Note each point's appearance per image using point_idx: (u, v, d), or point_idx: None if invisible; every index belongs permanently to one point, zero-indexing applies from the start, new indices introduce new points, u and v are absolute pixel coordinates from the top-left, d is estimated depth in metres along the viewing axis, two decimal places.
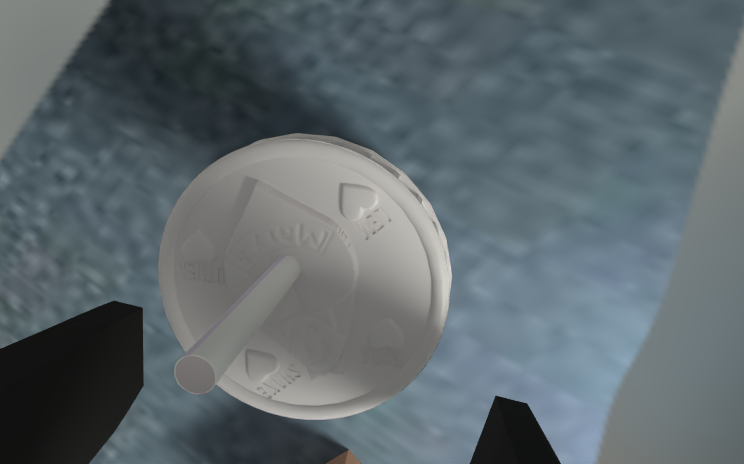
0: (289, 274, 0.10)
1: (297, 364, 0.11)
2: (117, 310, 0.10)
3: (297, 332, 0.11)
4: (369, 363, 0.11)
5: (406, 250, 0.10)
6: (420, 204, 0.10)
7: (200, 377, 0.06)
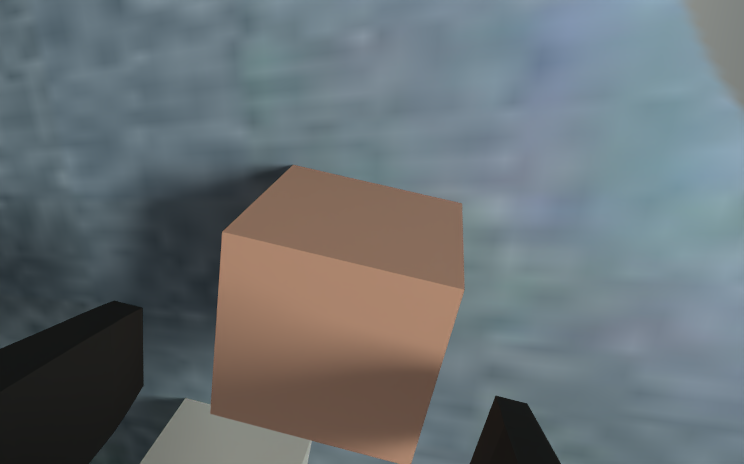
0: None
1: None
2: (116, 310, 0.10)
3: None
4: None
5: None
6: None
7: None
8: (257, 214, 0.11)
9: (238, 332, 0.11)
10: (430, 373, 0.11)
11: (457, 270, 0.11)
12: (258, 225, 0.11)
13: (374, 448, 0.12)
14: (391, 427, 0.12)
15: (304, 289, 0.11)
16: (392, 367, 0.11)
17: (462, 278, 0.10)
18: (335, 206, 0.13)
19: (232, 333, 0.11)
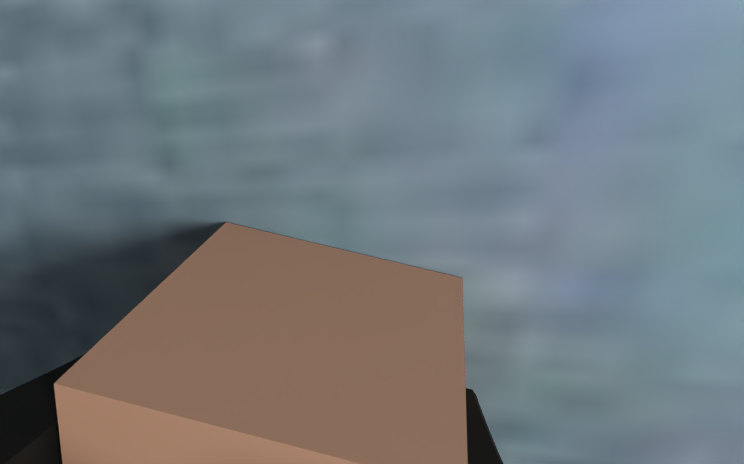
0: None
1: None
2: None
3: None
4: None
5: None
6: None
7: None
8: (135, 333, 0.07)
9: None
10: None
11: (456, 438, 0.06)
12: (127, 360, 0.07)
13: None
14: None
15: None
16: None
17: (464, 459, 0.06)
18: (271, 303, 0.08)
19: None
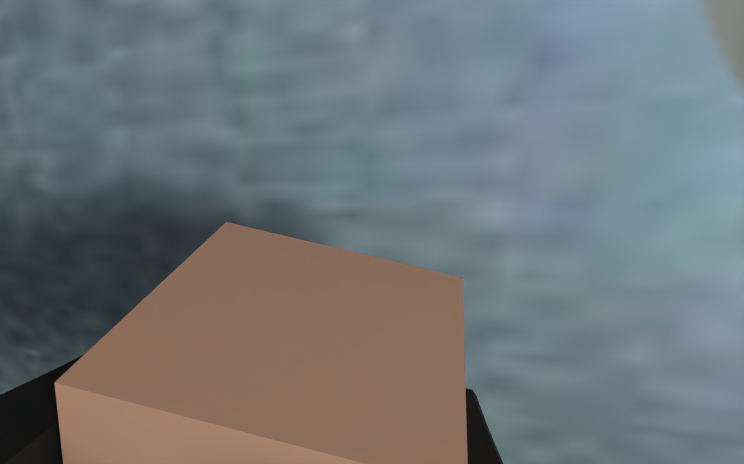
0: None
1: None
2: None
3: None
4: None
5: None
6: None
7: None
8: (135, 332, 0.07)
9: None
10: None
11: (456, 437, 0.06)
12: (128, 359, 0.07)
13: None
14: None
15: None
16: None
17: (464, 458, 0.06)
18: (271, 303, 0.08)
19: None
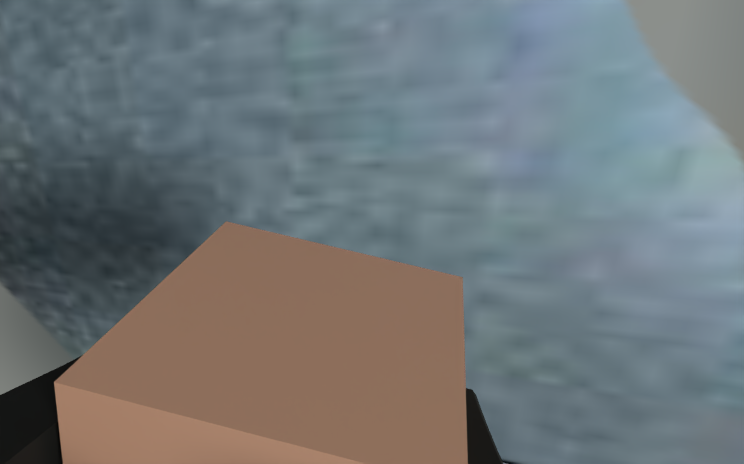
0: None
1: None
2: None
3: None
4: None
5: None
6: None
7: None
8: (135, 332, 0.07)
9: None
10: None
11: (456, 436, 0.06)
12: (128, 358, 0.07)
13: None
14: None
15: None
16: None
17: (464, 458, 0.06)
18: (271, 302, 0.08)
19: None
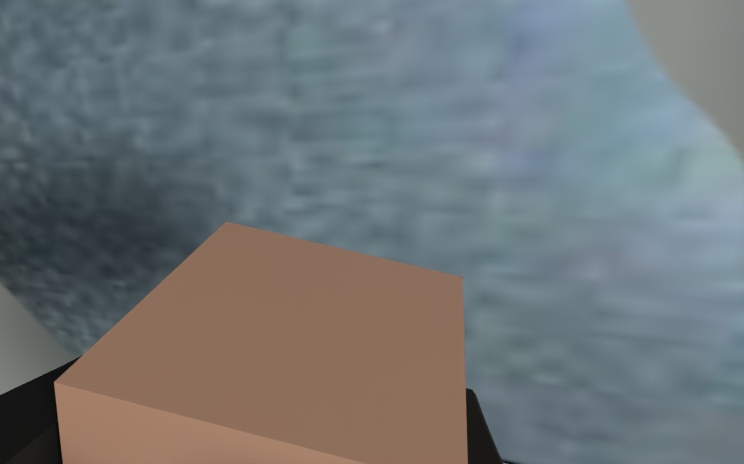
0: None
1: None
2: None
3: None
4: None
5: None
6: None
7: None
8: (135, 332, 0.07)
9: None
10: None
11: (456, 436, 0.06)
12: (128, 358, 0.07)
13: None
14: None
15: None
16: None
17: (464, 458, 0.06)
18: (271, 302, 0.08)
19: None
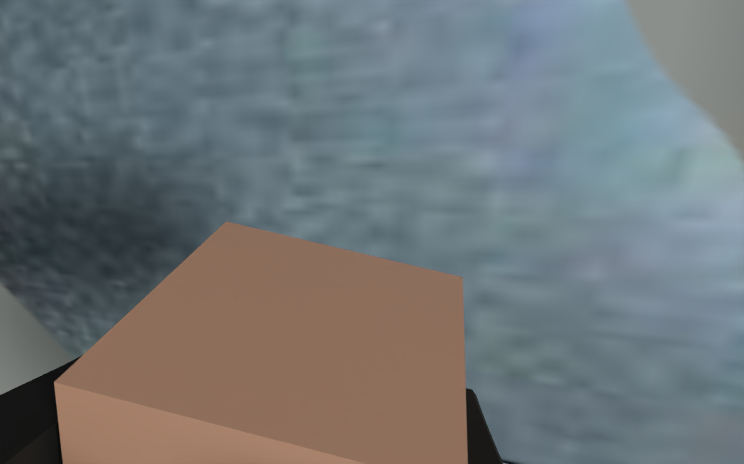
0: None
1: None
2: None
3: None
4: None
5: None
6: None
7: None
8: (135, 332, 0.07)
9: None
10: None
11: (456, 436, 0.06)
12: (128, 358, 0.07)
13: None
14: None
15: None
16: None
17: (464, 458, 0.06)
18: (271, 302, 0.08)
19: None
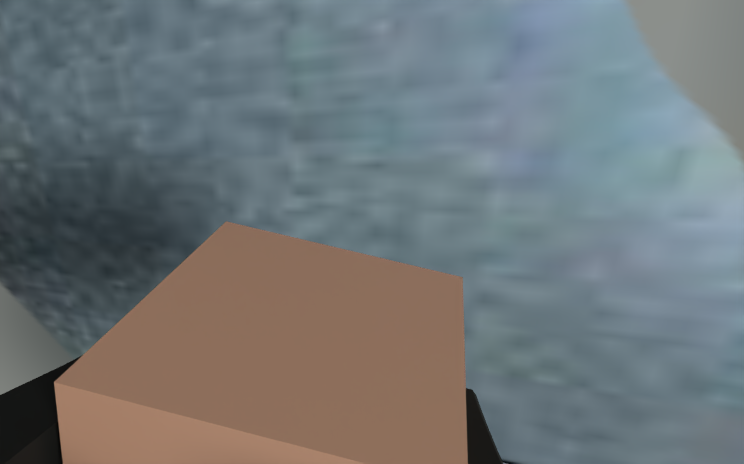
0: None
1: None
2: None
3: None
4: None
5: None
6: None
7: None
8: (135, 332, 0.07)
9: None
10: None
11: (456, 436, 0.06)
12: (128, 358, 0.07)
13: None
14: None
15: None
16: None
17: (464, 458, 0.06)
18: (271, 302, 0.08)
19: None
